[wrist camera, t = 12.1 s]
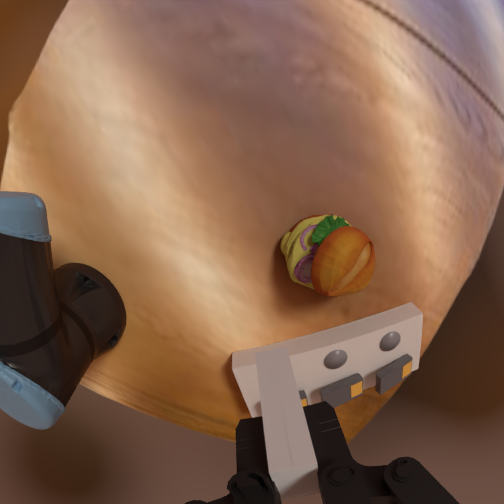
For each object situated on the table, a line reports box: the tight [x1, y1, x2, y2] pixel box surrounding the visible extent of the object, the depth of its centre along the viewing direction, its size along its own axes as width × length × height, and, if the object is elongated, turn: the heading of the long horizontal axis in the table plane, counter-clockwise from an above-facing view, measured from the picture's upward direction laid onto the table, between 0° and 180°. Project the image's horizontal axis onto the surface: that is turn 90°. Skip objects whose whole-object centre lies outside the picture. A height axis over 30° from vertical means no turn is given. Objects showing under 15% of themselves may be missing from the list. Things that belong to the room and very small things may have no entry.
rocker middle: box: [320, 373, 363, 408], centre depth 41 cm, size 7×4×2 cm, turn 104°
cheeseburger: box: [280, 214, 375, 297], centre depth 36 cm, size 10×11×10 cm
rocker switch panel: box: [232, 302, 423, 418], centre depth 43 cm, size 30×12×4 cm, turn 104°
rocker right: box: [375, 354, 413, 395], centre depth 40 cm, size 7×4×2 cm, turn 104°
